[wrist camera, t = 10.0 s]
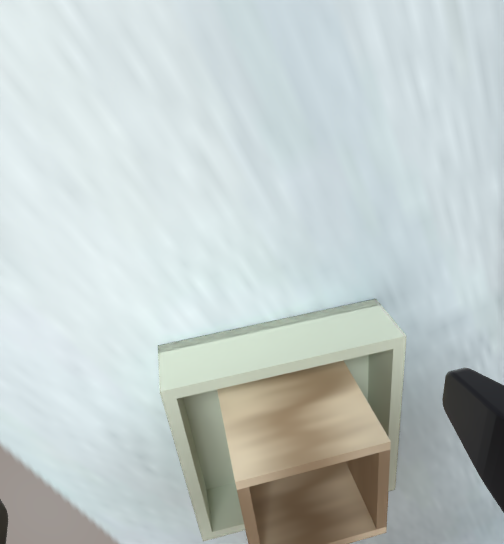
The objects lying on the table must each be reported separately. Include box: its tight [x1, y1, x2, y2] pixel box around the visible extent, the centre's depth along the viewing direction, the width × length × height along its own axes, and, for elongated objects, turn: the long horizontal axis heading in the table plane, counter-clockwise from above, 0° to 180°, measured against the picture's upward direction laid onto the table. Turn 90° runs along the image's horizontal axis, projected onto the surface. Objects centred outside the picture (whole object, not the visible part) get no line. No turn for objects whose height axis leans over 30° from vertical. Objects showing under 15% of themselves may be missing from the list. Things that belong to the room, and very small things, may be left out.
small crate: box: [217, 360, 391, 544], centre depth 22 cm, size 6×6×6 cm
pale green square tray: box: [158, 299, 406, 541], centre depth 24 cm, size 11×11×3 cm
